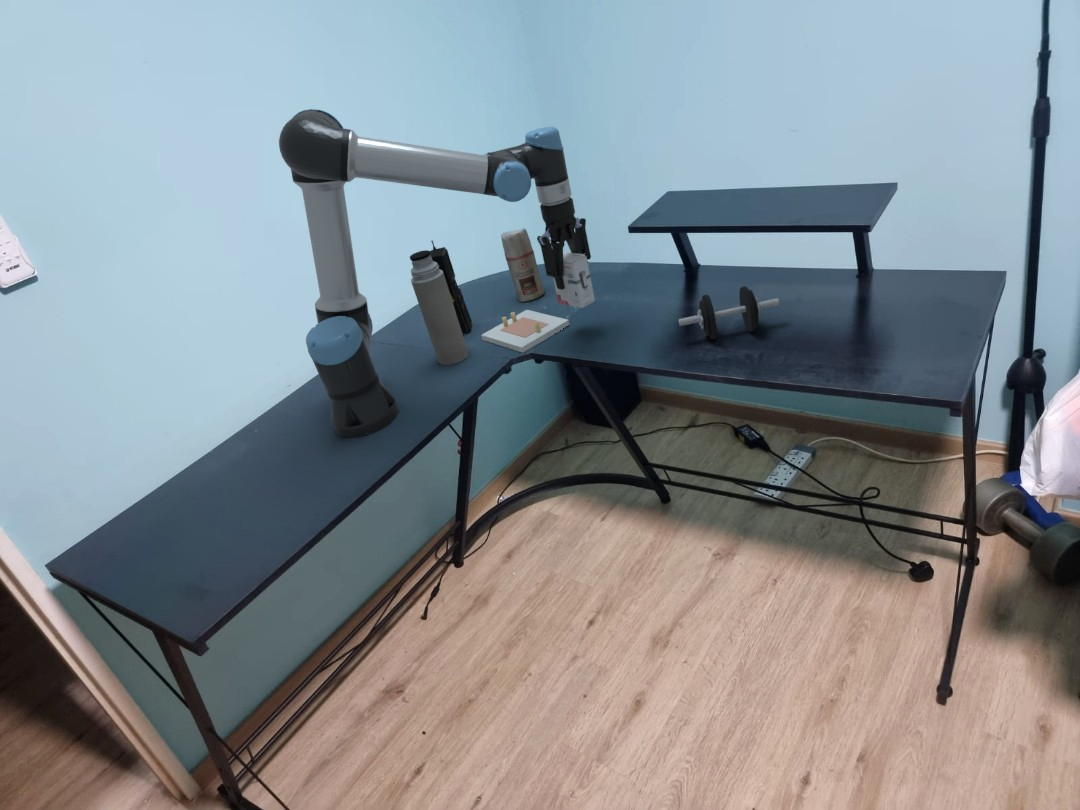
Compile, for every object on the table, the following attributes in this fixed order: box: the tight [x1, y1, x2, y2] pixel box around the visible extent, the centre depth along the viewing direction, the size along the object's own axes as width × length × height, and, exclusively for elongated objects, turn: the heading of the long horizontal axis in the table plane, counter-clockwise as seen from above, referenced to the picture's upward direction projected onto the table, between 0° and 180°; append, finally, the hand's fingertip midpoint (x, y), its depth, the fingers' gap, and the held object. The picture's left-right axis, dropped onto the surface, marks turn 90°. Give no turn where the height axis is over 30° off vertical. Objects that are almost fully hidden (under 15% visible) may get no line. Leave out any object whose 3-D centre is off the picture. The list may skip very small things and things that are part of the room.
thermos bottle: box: [409, 249, 469, 366], centre depth 174 cm, size 8×8×28 cm
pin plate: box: [481, 309, 570, 354], centre depth 182 cm, size 16×17×4 cm
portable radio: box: [429, 240, 473, 335], centre depth 188 cm, size 8×6×25 cm
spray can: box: [500, 227, 545, 302], centre depth 200 cm, size 8×8×20 cm
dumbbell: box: [677, 285, 780, 340], centre depth 155 cm, size 22×10×10 cm, turn 89°
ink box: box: [552, 251, 596, 309], centre depth 169 cm, size 9×5×12 cm, turn 42°
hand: (575, 295), depth 171 cm, fingers closed on ink box, 5 cm apart
